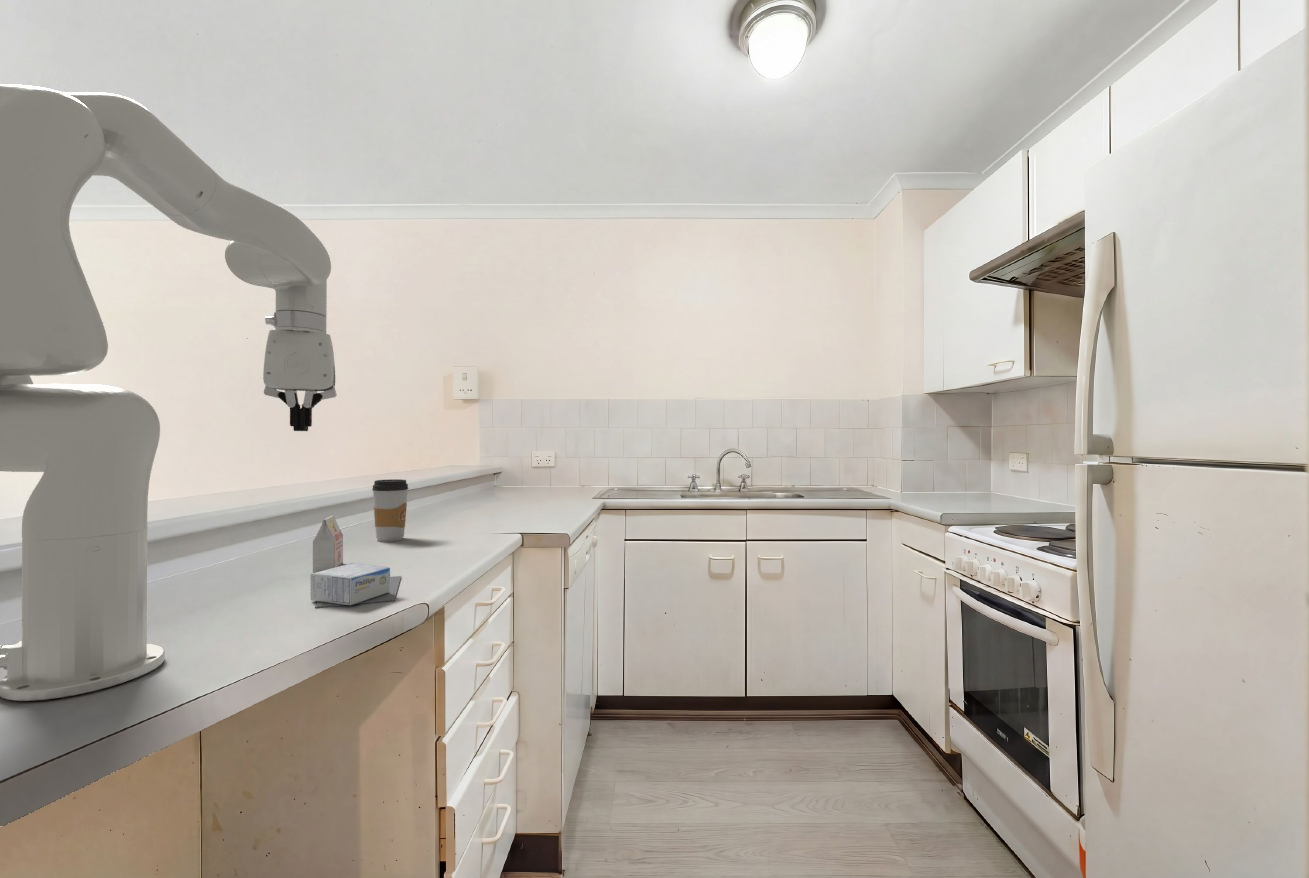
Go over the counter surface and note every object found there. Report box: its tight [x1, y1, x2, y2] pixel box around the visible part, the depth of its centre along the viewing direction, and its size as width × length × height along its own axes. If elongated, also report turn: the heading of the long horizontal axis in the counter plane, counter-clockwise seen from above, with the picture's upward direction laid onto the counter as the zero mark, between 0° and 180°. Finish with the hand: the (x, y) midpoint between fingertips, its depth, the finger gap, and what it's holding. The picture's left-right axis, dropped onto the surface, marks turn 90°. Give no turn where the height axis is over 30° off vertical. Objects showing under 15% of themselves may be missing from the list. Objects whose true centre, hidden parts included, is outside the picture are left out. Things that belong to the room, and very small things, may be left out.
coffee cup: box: [371, 478, 409, 543], centre depth 141 cm, size 8×8×15 cm
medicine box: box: [310, 562, 391, 606], centre depth 90 cm, size 8×4×9 cm
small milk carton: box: [312, 515, 344, 573], centre depth 110 cm, size 4×7×10 cm, turn 17°
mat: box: [314, 575, 402, 609], centre depth 94 cm, size 11×16×1 cm
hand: (300, 430), depth 97 cm, fingers closed
